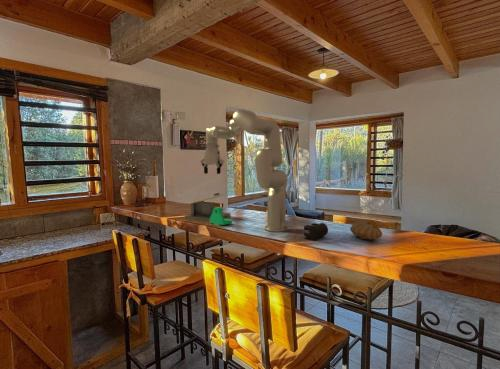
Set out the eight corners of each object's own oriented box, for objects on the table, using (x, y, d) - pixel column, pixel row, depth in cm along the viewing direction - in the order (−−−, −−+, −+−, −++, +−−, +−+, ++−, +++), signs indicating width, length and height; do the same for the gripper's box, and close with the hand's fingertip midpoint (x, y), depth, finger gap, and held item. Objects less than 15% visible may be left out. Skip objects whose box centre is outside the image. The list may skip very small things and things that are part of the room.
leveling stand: (230, 216, 187) (230, 201, 187) (214, 221, 169) (213, 205, 169) (202, 213, 197) (202, 200, 196) (184, 219, 179) (184, 203, 178)
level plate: (224, 195, 184) (224, 191, 185) (213, 197, 172) (212, 193, 172) (203, 200, 192) (203, 197, 192) (191, 203, 179) (190, 199, 179)
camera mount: (233, 224, 162) (232, 207, 161) (223, 226, 157) (223, 208, 156) (219, 221, 170) (219, 205, 169) (209, 223, 165) (209, 206, 164)
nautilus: (362, 232, 144) (393, 239, 133) (342, 237, 129) (375, 245, 118) (364, 217, 143) (395, 222, 132) (343, 220, 128) (377, 227, 118)
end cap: (316, 242, 124) (316, 227, 124) (303, 239, 129) (303, 224, 129) (328, 238, 131) (328, 223, 131) (315, 235, 136) (315, 221, 136)
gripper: (226, 147, 181) (226, 173, 182) (204, 147, 188) (204, 173, 189) (220, 146, 174) (220, 174, 175) (197, 147, 181) (197, 173, 183)
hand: (212, 173), depth 182 cm, fingers open, 9 cm apart
